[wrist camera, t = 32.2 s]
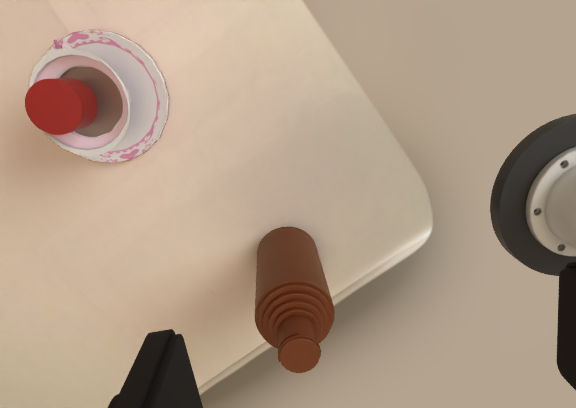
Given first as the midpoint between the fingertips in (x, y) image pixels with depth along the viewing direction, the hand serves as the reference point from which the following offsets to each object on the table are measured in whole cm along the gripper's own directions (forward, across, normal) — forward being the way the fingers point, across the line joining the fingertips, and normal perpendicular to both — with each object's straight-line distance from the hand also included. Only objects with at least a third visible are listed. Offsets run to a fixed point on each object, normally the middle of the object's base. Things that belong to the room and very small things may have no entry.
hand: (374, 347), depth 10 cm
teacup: (+33, +17, -7) cm, 38 cm away
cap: (+26, +17, -7) cm, 32 cm away
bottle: (+33, +3, +12) cm, 35 cm away
